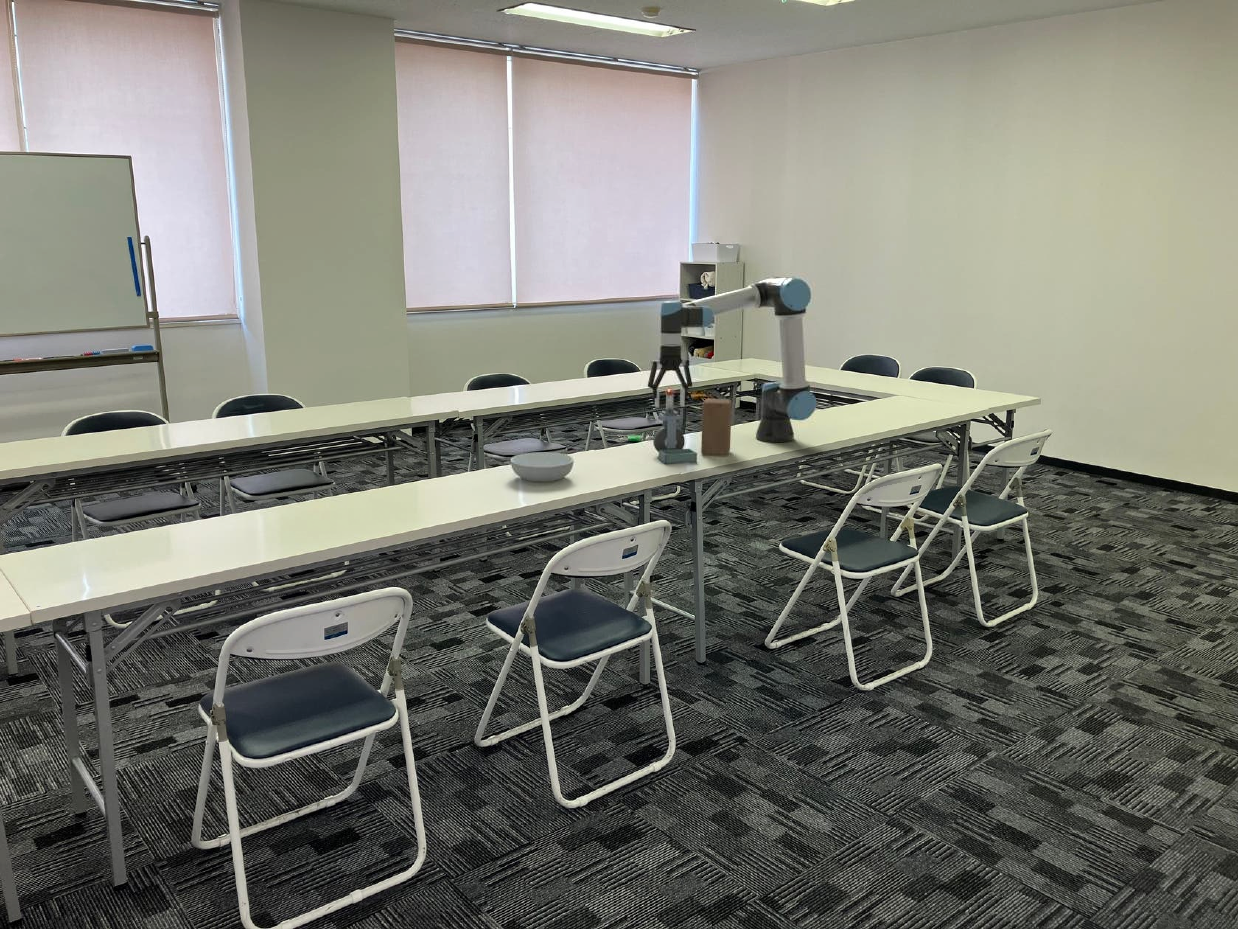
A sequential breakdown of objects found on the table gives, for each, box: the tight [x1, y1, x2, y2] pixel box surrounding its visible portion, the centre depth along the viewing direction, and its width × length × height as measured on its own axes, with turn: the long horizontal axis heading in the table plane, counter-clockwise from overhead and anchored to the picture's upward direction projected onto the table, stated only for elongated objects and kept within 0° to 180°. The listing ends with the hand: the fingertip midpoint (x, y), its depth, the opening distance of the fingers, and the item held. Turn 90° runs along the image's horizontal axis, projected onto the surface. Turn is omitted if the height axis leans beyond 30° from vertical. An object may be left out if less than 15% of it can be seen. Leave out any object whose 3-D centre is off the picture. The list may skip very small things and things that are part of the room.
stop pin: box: [664, 389, 676, 413], centre depth 339 cm, size 3×3×9 cm
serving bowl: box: [510, 451, 575, 483], centre depth 308 cm, size 21×21×7 cm
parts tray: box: [658, 448, 698, 465], centre depth 335 cm, size 12×8×4 cm, turn 105°
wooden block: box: [700, 398, 733, 457], centre depth 346 cm, size 10×10×20 cm
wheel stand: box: [652, 410, 686, 453], centre depth 341 cm, size 11×6×16 cm, turn 105°
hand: (669, 406), depth 339 cm, fingers open, 9 cm apart
